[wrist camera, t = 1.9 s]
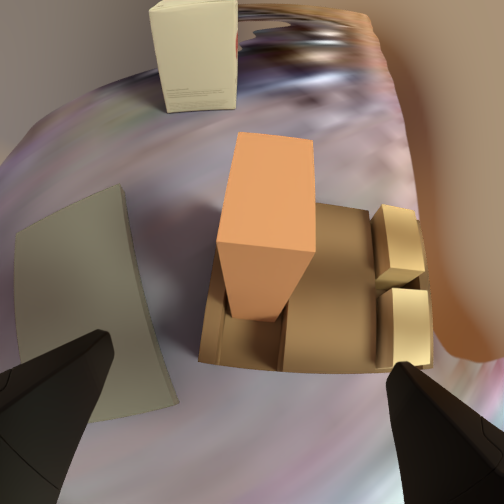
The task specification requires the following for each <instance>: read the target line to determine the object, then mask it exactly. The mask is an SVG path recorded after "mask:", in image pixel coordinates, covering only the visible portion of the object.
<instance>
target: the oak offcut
mask: <svg viewBox="0 0 504 504" xmlns="http://www.w3.org/2000/svg"><path fill="white" fill-rule="evenodd" d="M370 227H371V236H372V246H373V258H374V271H375V289H378V290H390V289H391V288H401V287H402V286H404V285H405V284H407V283H408V282H410V281H411V280H413V279H414V278H416V277H417V276H419V275H420V274H422V273H423V272H425V267H424V260H423V253H422V247H421V241H420V236H419V231H418V226H417V221H416V216H415V212H414V211H413V210H408V209H404V208H399V207H394V206H389V205H384V204H382V205H381V206H380V208H379V209H378V211H377V212H376V213H375V215H374V216H373V218H372V219H371V220H370Z"/></svg>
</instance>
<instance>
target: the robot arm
mask: <svg viewBox="0 0 504 504" xmlns="http://www.w3.org/2000/svg"><path fill="white" fill-rule="evenodd" d="M114 355H115V351H114V347H113V343H112V339H111V335H110V333H109V332H108V331H105V330H101V329H96V330H94V331H92V332H90V333H87V334H85V335H83V336H81V337H79V338H77V339H74V340H72V341H70V342H68V343H66V344H64V345H61V346H59V347H57V348H55V349H53V350H51V351H48V352H46V353H44V354H42V355H40V356H38V357H35V358H33V359H31V360H29V361H27V362H25V363H22V364H20V365H18V366H16V367H14V368H12V369H9V370H7V371H5V372H3V373H0V504H56V503H57V500H58V497H59V494H60V490H61V488H62V485H63V482H64V480H65V477H66V474H67V472H68V469H69V466H70V464H71V461H72V459H73V456H74V454H75V451H76V449H77V447H78V444H79V442H80V439H81V437H82V435H83V433H84V430H85V428H86V426H87V423H88V421H89V419H90V417H91V415H92V412H93V410H94V408H95V406H96V404H97V402H98V400H99V397H100V395H101V392H102V390H103V387H104V384H105V381H106V378H107V376H108V373H109V370H110V367H111V365H112V362H113V359H114ZM386 391H387V398H388V405H389V414H390V422H391V427H392V432H393V437H394V442H395V447H396V452H397V457H398V463H399V469H400V475H401V481H402V488H403V495H404V503H405V504H504V432H503V431H502V430H500V429H498V428H497V427H496V426H494V425H493V424H491V423H490V422H489V421H487V420H486V419H485V418H483V417H482V416H481V417H480V415H479V414H478V413H477V412H475V411H474V410H473V409H471V408H470V407H469V406H467V405H466V404H465V403H463V402H462V401H461V400H459V399H458V398H457V397H455V396H454V395H453V394H451V393H450V392H449V391H447V390H446V389H445V388H443V387H442V386H441V385H439V384H438V383H437V382H435V381H434V380H433V379H431V378H430V377H429V376H427V375H426V374H425V373H423V372H422V371H421V370H419V369H418V368H417V367H415V366H414V365H413V364H411V363H410V362H408V361H399V362H397V363H396V364H395V365H394V367H393V369H392V371H391V373H390V374H389V376H388V378H387V381H386Z"/></svg>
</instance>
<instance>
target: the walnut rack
mask: <svg viewBox="0 0 504 504" xmlns="http://www.w3.org/2000/svg"><path fill="white" fill-rule="evenodd" d="M315 214H316V252H315V254H314V256H313V258H312V260H311V261H310V263H309V265H308V267H307V268H306V270H305V272H304V274H303V275H302V277H301V279H300V281H299V282H298V284H297V286H296V287H295V289H294V291H293V293H292V294H291V296H290V298H289V299H288V301H287V303H286V304H285V306H284V308H283V309H282V311H281V313H280V314H279V316H278V318H277V319H276V321H275V322H263V321H254V320H245V319H236V318H232V314H231V309H230V305H229V300H228V296H227V291H226V286H225V282H224V277H223V272H222V267H221V263H220V258H219V253H218V248H217V244H216V250H215V256H214V261H213V267H212V273H211V279H210V285H209V291H208V297H207V303H206V310H205V316H204V323H203V329H202V336H201V343H200V350H199V357H198V362H202V363H208V364H214V365H221V366H229V367H237V368H245V369H255V370H266V371H278V372H294V373H318V374H363V373H387V372H391V371H392V369H393V368H391V369H375V361H376V298H378V297H379V296H381V295H382V294H384V293H385V292H387V291H388V290H378V289H375V271H374V258H373V246H372V236H371V227H370V219H369V211H367V210H361V209H355V208H348V207H342V206H335V205H329V204H322V203H315ZM416 221H417V226H418V231H419V236H420V241H421V247H422V253H423V260H424V267H425V272H423V273H422V274H420V275H419V276H417V277H416V278H414V279H413V280H411V281H410V282H408V283H407V284H405V285H404V286H402V287H401V288H399V289H413V290H427V292H428V304H429V320H430V364H426V365H419V366H415V367H417V368H418V369H419V370H422V369H430V368H433V321H432V305H431V293H430V284H429V275H428V267H427V260H426V254H425V248H424V242H423V237H422V232H421V227H420V222H419V220H416Z"/></svg>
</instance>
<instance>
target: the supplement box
mask: <svg viewBox="0 0 504 504" xmlns="http://www.w3.org/2000/svg"><path fill="white" fill-rule="evenodd" d="M149 17H150V23H151V31H152V36H153V42H154V48H155V54H156V59H157V65H158V70H159V75H160V80H161V85H162V90H163V95H164V100H165V104H166V109H167V113H172V112H183V111H198V110H219V109H235V108H236V93H237V56H238V50H237V49H238V43H237V42H238V39H237V38H238V29H237V28H238V24H237V23H238V5H237V0H163V1H161V2H159V3H158V4H157V5H156V6H154V7H153V8H151V9H150V10H149Z"/></svg>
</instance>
